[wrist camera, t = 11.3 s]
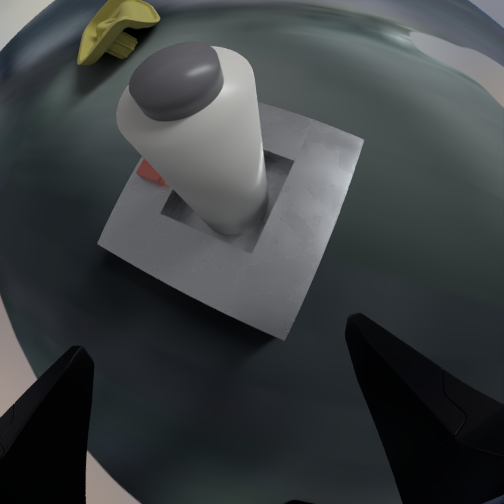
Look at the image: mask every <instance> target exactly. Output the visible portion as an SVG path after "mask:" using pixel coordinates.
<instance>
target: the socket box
mask: <svg viewBox="0 0 504 504" xmlns="http://www.w3.org/2000/svg"><path fill="white" fill-rule="evenodd" d="M258 110H259V118H260V127H261V135H262V144H263V153H264V162H265V171H266V180H267V190H268V207H267V210H266V213H265V215H264V216H263V218H262V219H261V221H260V222H259V223H258V224H257V225H256V226H255V227H253V228H252V229H250V230H248V231H246V232H244V233H240V234H233V235H229V234H223V233H219V232H217V231H215V230H213V229H212V228H210V227H209V226H208V225H207V224H206V223H205V222H204V221H203V220H202V219H201V218H200V217H199V216H198V215H197V214H196V213H195V212H194V210H193V209H192V208H191V207H190V206H189V205H188V204H187V203H186V202H185V201H184V200H183V199H182V198H181V197H180V196H179V195H178V194H177V193H176V192H175V190H174V189H173V188H172V187H171V186H170V185H169V184H168V183H167V182H166V181H165V180H164V179H163V178H162V177H161V176H160V175H159V173H158V172H157V171H156V170H155V169H154V168H153V167H152V166H151V165H150V164H149V163H148V162H147V161H146V160H145V159H144V157H143V156H142V158H141V159H140V161H139V163H138V164H137V166H136V168H135V169H134V171H133V173H132V175H131V177H130V178H129V180H128V182H127V184H126V186H125V188H124V189H123V191H122V193H121V195H120V197H119V199H118V201H117V203H116V205H115V207H114V209H113V211H112V213H111V215H110V217H109V219H108V221H107V223H106V226H105V228H104V230H103V232H102V234H101V237H100V239H99V241H98V245H100V246H102V247H103V248H105V249H107V250H108V251H110V252H112V253H113V254H115V255H117V256H118V257H120V258H122V259H123V260H125V261H127V262H129V263H130V264H132V265H134V266H136V267H137V268H139V269H141V270H143V271H144V272H146V273H148V274H150V275H152V276H153V277H155V278H157V279H159V280H161V281H162V282H164V283H166V284H168V285H170V286H172V287H174V288H176V289H177V290H179V291H181V292H183V293H185V294H187V295H189V296H191V297H193V298H195V299H197V300H199V301H201V302H203V303H205V304H207V305H209V306H211V307H213V308H215V309H217V310H219V311H221V312H223V313H225V314H227V315H229V316H231V317H233V318H235V319H237V320H240V321H242V322H244V323H246V324H248V325H250V326H252V327H255V328H257V329H259V330H261V331H263V332H266V333H268V334H270V335H272V336H275V337H277V338H279V339H282V340H284V341H285V339H286V337H287V335H288V333H289V331H290V328H291V326H292V324H293V322H294V320H295V318H296V316H297V313H298V311H299V309H300V307H301V305H302V302H303V300H304V298H305V296H306V293H307V291H308V289H309V286H310V284H311V282H312V279H313V277H314V275H315V272H316V270H317V268H318V265H319V263H320V260H321V258H322V255H323V253H324V251H325V248H326V246H327V243H328V241H329V238H330V235H331V233H332V230H333V228H334V225H335V222H336V220H337V217H338V214H339V212H340V209H341V206H342V204H343V201H344V198H345V195H346V193H347V190H348V187H349V184H350V181H351V178H352V175H353V172H354V169H355V166H356V163H357V160H358V157H359V154H360V151H361V148H362V145H363V142H364V140H363V139H361V138H358V137H356V136H354V135H351V134H349V133H347V132H344V131H342V130H339V129H337V128H334V127H332V126H329V125H326V124H324V123H321V122H318V121H316V120H313V119H310V118H307V117H304V116H302V115H299V114H296V113H292V112H289V111H286V110H283V109H280V108H276V107H273V106H270V105H266V104H263V103H259V102H258Z"/></svg>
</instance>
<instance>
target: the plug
mask: <svg viewBox="0 0 504 504" xmlns="http://www.w3.org/2000/svg"><path fill="white" fill-rule="evenodd" d="M116 120H117V125H118V128H119V130H120V132H121V133H122V135H123V136H124V137H125V138H126V139H127V140H128V141H129V142H130V143H131V145H132V146H133V147H134V148H135V149H136V150H137V151H138V152H139V153H140V154H141V155H142V156H143V157H144V159H145V160H146V161H147V162H148V163H149V164H150V165H151V166H152V167H153V168H154V169H155V170H156V171H157V172H158V173H159V175H160V176H161V177H162V178H163V179H164V180H165V181H166V182H167V183H168V184H169V185H170V186H171V187H172V188H173V189H174V190H175V192H176V193H177V194H178V195H179V196H180V197H181V198H182V199H183V200H184V201H185V202H186V203H187V204H188V205H189V206H190V207H191V208H192V209H193V210H194V212H195V213H196V214H197V215H198V216H199V217H200V218H201V219H202V220H203V221H204V222H205V223H206V224H207V225H208V226H209V227H210V228H212V229H213V230H215V231H217V232H219V233H223V234H229V235H233V234H240V233H244V232H246V231H248V230H250V229H252V228H253V227H255V226H256V225H257V224H258V223H259V222H260V221H261V219H262V218H263V216H264V215H265V213H266V210H267V207H268V190H267V180H266V171H265V162H264V153H263V144H262V135H261V127H260V118H259V110H258V102H257V94H256V86H255V79H254V73H253V70H252V68H251V66H250V64H249V63H248V61H247V60H246V59H245V58H244V57H243V56H241V55H240V54H238V53H236V52H234V51H232V50H229V49H226V48H221V47H215V46H209V45H207V44H203V43H198V42H186V43H180V44H176V45H172V46H169V47H166V48H164V49H162V50H160V51H158V52H156V53H154V54H153V55H151V56H150V57H148V58H147V59H146V60H145V61H143V62H142V63H141V64H140V65H139V66H138V68H137V69H136V70H135V71H134V73H133V75H132V77H131V79H130V82H129V85H128V86H127V87H126V89H125V90H124V92H123V94H122V96H121V98H120V100H119V103H118V106H117V112H116Z"/></svg>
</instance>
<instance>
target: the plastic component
mask: <svg viewBox="0 0 504 504" xmlns="http://www.w3.org/2000/svg"><path fill="white" fill-rule="evenodd" d="M159 20H160V17H159V15H158V14H157V12H156V11H155V9H154V8H153V7H152V6H151V5H149V4H148V3H146V2H144V1H141V0H108V1H107V3H106V4H105V5H104V6H103V7H102V8H101V9H100V11H99V12H98V13H97V14H96V15H95V17H94V18H93V19H92V20H91V22H90V23H89V24H88V26H87V27H86V29H85V30H84V32H83V35H82V40H81V44H80V49H79V54H78V60H77V64H78V65H92V64H93V63H95V62H96V61H97V60H98V59H99V58H100V57H101V56H102V55H103V54H104V53H105V52H107V53H109V54H111V55H114V56H116V57H118V58H120V59H122V60H123V59H124V58H127V57H128V55H129V54H130V53H131V52H132V51H133V50H134V48H135V46H136V44H137V43H138V42H137V39H136V38H134V37H132V36H131V35H129V34H127V33H125V32H123V30H124V29H125V28H127V27H130V28H134V29H140V28H148V27H152V26H154V25H155V24H157V23H158V22H159Z"/></svg>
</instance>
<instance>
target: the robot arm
mask: <svg viewBox="0 0 504 504" xmlns="http://www.w3.org/2000/svg"><path fill="white" fill-rule="evenodd" d="M345 339H346V342H347V346H348V349H349V353H350V356H351V360H352V363H353V367H354V370H355V374H356V377H357V380H358V383H359V385H360V388H361V390H362V393H363V395H364V398H365V400H366V403H367V405H368V408H369V410H370V413H371V415H372V418H373V420H374V423H375V426H376V428H377V431H378V433H379V436H380V439H381V441H382V444H383V447H384V450H385V452H386V455H387V458H388V461H389V464H390V466H391V469H392V472H393V475H394V478H395V481H396V484H397V487H398V491H399V494H400V497H401V500H402V503H403V504H504V404H502V403H500V402H498V401H496V400H494V399H492V398H491V397H489V396H487V395H485V394H483V393H481V392H479V391H478V390H476V389H474V388H472V387H470V386H469V385H467V384H465V383H464V382H462V381H460V380H459V379H457V378H456V377H454V376H453V375H451V374H450V373H448V372H447V371H446V370H444V369H443V370H442V368H441V367H440V366H438V365H437V364H435V363H434V362H432V361H431V360H429V359H428V358H427V357H425V356H424V355H422V354H421V353H419V352H418V351H416V350H415V349H413V348H412V347H411V346H409V345H408V344H406V343H405V342H403V341H402V340H400V339H399V338H397V337H396V336H394V335H393V334H391V333H390V332H389V331H387V330H386V329H384V328H383V327H381V326H380V325H378V324H377V323H375V322H374V321H372V320H371V319H369V318H368V317H366V316H365V315H363V314H362V313H356V314H352V315H349V316H348V318H347V324H346V330H345ZM93 377H94V362H93V360H92V358H91V357H90V356H89V354H88V353H87V351H86V350H85V348H84V347H82V346H72V347H71V348H70V349H69V350H68V351H67V352H65V353H64V354H63V355H62V356H61V357H60V358H59V359H58V360H57V361H56V362H55V363H54V364H53V365H52V366H51V367H50V368H49V369H48V370H47V371H46V372H45V373H44V374H43V375H42V376H41V377H40V378H39V379H38V380H37V381H36V382H35V383H34V384H33V385H32V386H31V387H30V388H29V389H28V390H27V391H26V392H25V393H24V394H23V395H22V396H21V397H20V398H19V399H18V400H17V401H16V402H15V404H13V405H12V406H11V407H10V408H9V409H8V410H7V412H5V413H4V415H3V416H2V417H0V504H86V496H85V494H86V492H85V491H86V490H85V489H86V454H87V441H88V431H89V421H90V413H91V405H92V392H93ZM289 504H312V503H307V502H302V501H297V500H294V501H291V502H290V503H289Z"/></svg>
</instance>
